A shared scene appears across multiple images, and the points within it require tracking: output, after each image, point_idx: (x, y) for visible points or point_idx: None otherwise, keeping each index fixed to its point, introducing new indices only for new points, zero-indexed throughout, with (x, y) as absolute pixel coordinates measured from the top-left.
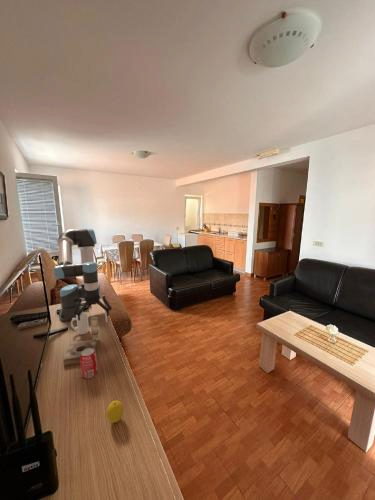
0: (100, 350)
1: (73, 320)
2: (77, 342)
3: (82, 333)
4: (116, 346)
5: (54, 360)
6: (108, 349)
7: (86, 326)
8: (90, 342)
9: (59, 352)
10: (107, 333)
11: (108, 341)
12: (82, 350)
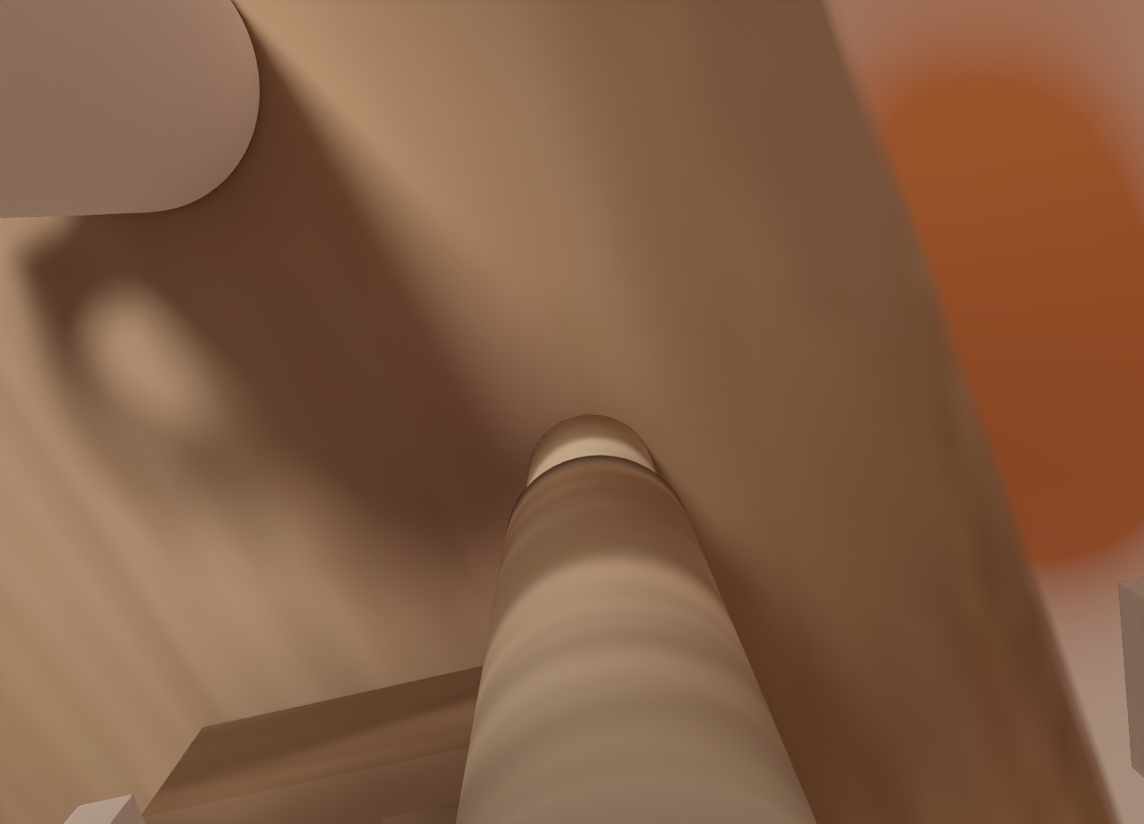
0: None
1: None
2: (300, 790)
3: (159, 209)
4: (1057, 705)
5: None
6: (921, 775)
7: (161, 125)
8: None
9: (66, 794)
10: (789, 217)
11: (876, 541)
12: None
